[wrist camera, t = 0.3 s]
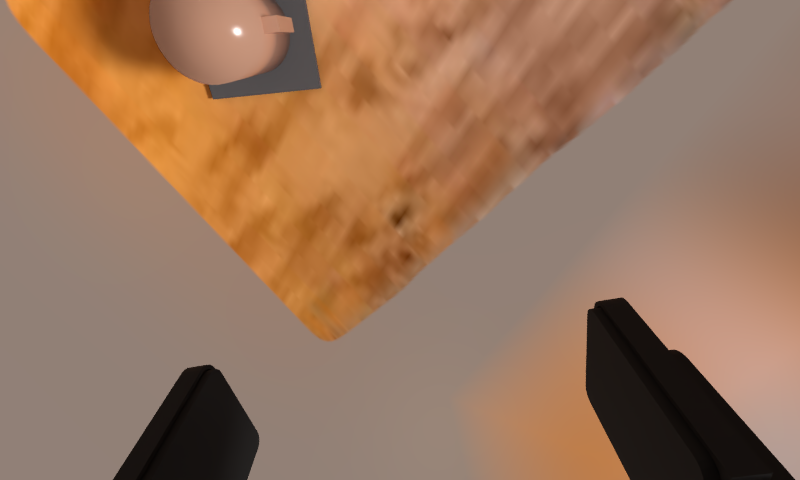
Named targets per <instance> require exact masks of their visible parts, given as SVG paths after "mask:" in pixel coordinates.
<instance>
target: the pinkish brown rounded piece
mask: <svg viewBox="0 0 800 480" xmlns="http://www.w3.org/2000/svg"><path fill="white" fill-rule="evenodd" d="M149 18H150V25H151V30H152V33H153V36H154V39H155V41H156V43H157V45H158V47H159V49H160V51H161V52H162V54H163V55H164V57H165V58H166V59H167V60H168V62H169V63H170V64H171V65H172V66H173V67H174V68H175V69H177V70H178V71H179V72H180V73H182V74H183V75H185V76H186V77H188V78H190V79H192V80H194V81H197V82H199V83H203V84H209V85H220V84H225V83H229V82H233V81H237V80H241V79H244V78H248V77H252V76H256V75H260V74H264V73H267V72H270V71H272V70H274V69H275V68H277V67H278V66H279V65H280V64H281V63H282V62H283V60H284V59H285V57H286V55H287V52H288V50H289V45H290V33H294V28H293V23H292V18H290V17H286V16H285V14H284V12H283V11H282V9H281V8H280V6H279V5H278V3H277V2H276V1H275V0H150V6H149Z"/></svg>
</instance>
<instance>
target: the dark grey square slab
mask: <svg viewBox="0 0 800 480" xmlns="http://www.w3.org/2000/svg"><path fill="white" fill-rule="evenodd" d="M275 1H276V2H277V3H278V5H279V6H280V8H281V9H282V11H283V12H284V14H285V16H286V17H290V18H292V23H293V28H294V33H290V45H289V50H288V52H287V55H286V57H285V59H284V60H283V62H282V63H281V64H280V65H279V66H278V67H277V68H275V69H274V70H272V71H270V72H267V73H264V74H260V75H256V76H252V77H248V78H244V79H241V80H237V81H233V82H229V83H225V84H220V85H209V88H210V91H211V94H212V97H213V99H221V98H231V97H241V96H250V95H260V94H270V93H279V92H289V91H299V90H309V89H318V88H321V83H320V77H319V72H318V66H317V61H316V55H315V49H314V44H313V38H312V33H311V27H310V22H309V16H308V10H307V5H306V0H275Z"/></svg>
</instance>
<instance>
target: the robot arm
mask: <svg viewBox="0 0 800 480" xmlns="http://www.w3.org/2000/svg"><path fill="white" fill-rule="evenodd" d="M587 315H588V316H587V356H586V357H587V358H586V391H587V395H588V398H589V400H590V403H591V405H592V406H593V408H594V410H595V412H596V414H597V416H598V418H599V420H600V422H601V424H602V426H603V428H604V430H605V432H606V434H607V436H608V438H609V439H610V441H611V443H612V445H613V447H614V449H615V451H616V453H617V455H618V457H619V459H620V461H621V463H622V465H623V467H624V469H625V471H626V472H627V474H628V476H629V478H630V480H795V479H794V478H793V477H792V476H791V474H790V473H789V472H788V471H787V470H786V469H785V468H784V466H783V465H782V464H781V463H780V462H779V461H778V460H777V459H776V457H775V456H774V455H773V454H772V453H771V452H770V451H769V450H768V448H767V447H766V446H765V445H764V444H763V443H762V442H761V441H760V439H759V438H758V437H757V436H756V435H755V434H754V433H753V432H752V430H751V429H750V428H749V427H748V426H747V425H746V424H745V422H744V421H743V420H742V419H741V418H740V417H739V416H738V415H737V414H736V412H735V411H734V410H733V409H732V408H731V407H730V406H729V404H728V403H727V402H726V401H725V400H724V399H723V398H722V397H721V396H720V394H719V393H718V392H717V391H716V390H715V389H714V388H713V386H712V385H711V384H710V383H709V382H708V381H707V380H706V378H704V376H703V375H702V374H701V373H700V372H699V371H698V369H696V367H695V366H694V365H693V364H692V363H691V362H690V360H689V359H688V358H687V357H686V356H685V355H683V354H682V353H681V352H679V351H677V350H668V349H667V348H666V346H665V345H664V344H663V343H662V342H661V341H660V339H659V338H658V337H657V336H656V335H655V334H654V332H653V331H652V330H651V329H650V328H649V326H648V325H647V324H646V323H645V322H644V321H643V319H642V318H641V317H640V316H639V315H638V314H637V312H636V311H635V310H634V309H633V308H632V306H631V305H630V304H629V303H628V302H627V301H626V300H625V299H624V298H617V299H610V300H604V301H598V302H596V303H595V306H594V309H589V310H588V314H587ZM258 446H259V435H258V432H257V430H256V429H255V427H254V426H253V424H252V422H251V420H250V419H249V417H248V416H247V414H246V412H245V411H244V409H243V408H242V406H241V404H240V403H239V401H238V399H237V397H236V396H235V394H234V393H233V391H232V389H231V388H230V386H229V384H228V383H227V381H226V380H225V378H224V376H223V375H222V373H221V372H220V370H217V369H215V368H214V367H213V366H211V365H203V366H197V367H191V368H187V369H186V370H184V371H183V372H182V374H181V375H180V377H179V379H178V380H177V381H176V383H175V384H174V386H173V388H172V389H171V391H170V392H169V394H168V395H167V397H166V399H165V400H164V402H163V403H162V405H161V406H160V408H159V409H158V411H157V412H156V414H155V415H154V417H153V419H152V420H151V422H150V423H149V425H148V426H147V428H146V429H145V431H144V433H143V434H142V436H141V437H140V439H139V440H138V442H137V443H136V445H135V446H134V448H133V449H132V451H131V453H130V454H129V456H128V457H127V459H126V460H125V462H124V464H123V465H122V466H121V468H120V470H119V471H118V473H117V474H116V476H115V477H114V479H113V480H247V479H248V476H249V473H250V470H251V467H252V464H253V461H254V458H255V455H256V452H257V449H258Z"/></svg>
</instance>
